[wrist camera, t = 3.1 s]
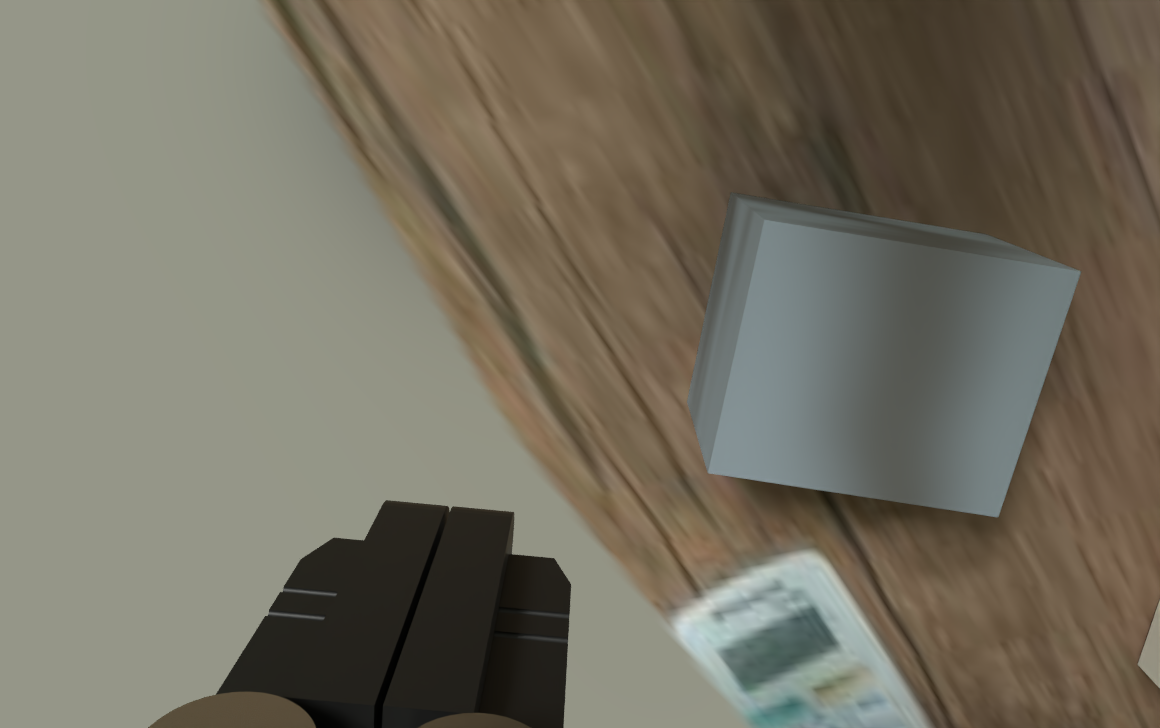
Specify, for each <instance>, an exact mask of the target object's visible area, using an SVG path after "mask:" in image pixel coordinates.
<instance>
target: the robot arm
mask: <svg viewBox="0 0 1160 728" xmlns="http://www.w3.org/2000/svg"><path fill="white" fill-rule="evenodd" d="M513 530H514V512H506V511H496V510H485V509H474V508H464V507H452V508H451V511H450V512H449V507H448V506H441V505H430V504H419V503H409V502H399V501H388V500H386V501H385V502H384V503H383V505H382V507H381V509H380V511H379V513H378V515H377V517H376V519H375V521H374V522H373V525H372V526H371V528H370V530H369V532H368V534H367V536H366V538H365V540H364V541H363V540H351V539H341V538H333V539H331V540H330V541H328V542H327V543H325V544H324V545H322V546H320V547H319V548H317V549H316V550H314V551H313V552H311V553H310V554H308V555H307V556H305V557H304V558H302V559H301V560H300V562H299V563H298V565H297V566H296V568H295V570H294V571H293V573H292V574H291V576H290V578H289V579H288V581H287V582H286V584H285V585H284V589H283V592H280V593H279V595H278V597H277V598H276V600H275V601H274V603H273V605H272V606H271V608H270V609H269V614H268V616H265V617H264V619H263V621H262V622H261V624H260V625H259V627H258V629H257V630H256V632H255V633H254V635H253V637H252V638H251V640H250V641H249V643H248V644H247V646H246V648H245V649H244V651H243V652H242V654H241V656H240V657H239V659H238V660H237V662H236V664H235V665H234V667H233V668H232V670H231V671H230V673H229V675H228V676H227V678H226V679H225V681H224V683H223V684H222V686H221V687H220V689H219V691H218V692H217V694H216V695H213V696H209V697H204V698H202V699H199V700H195V701H193V702H190V703H187V704H185V705H183V706H181V707H179V708H177V709H174V710H173V711H171V712H169V713H168V714H166V715H164V716H163V717H161V718H160V719H158V720H157V721H156V722H155V723H154V724H152V725H151V726H150V727H148V728H563V724H564V705H565V686H566V668H567V649H568V631H569V613H570V593H571V584H570V582H569V581H568V579H567V577H566V576H565V574H564V573H563V571H562V570H561V568H560V567H559V565H558V564H557V562H556V560H555V559H554V558H545V557H534V556H524V555H512V543H513Z"/></svg>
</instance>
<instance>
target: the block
mask: <svg viewBox="0 0 1160 728" xmlns="http://www.w3.org/2000/svg"><path fill="white" fill-rule="evenodd" d="M1080 274H1081V271H1079V270H1076V269H1074V268H1071V267H1069V266H1066V265H1064V264H1061V263H1058V262H1056V261H1053V260H1051V259H1048V258H1046V257H1043V256H1041V255H1038V254H1036V253H1033V252H1030V251H1028V250H1025V249H1023V248H1020V247H1018V246H1015V245H1013V244H1010V243H1008V242H1005V241H1002V240H1000V239H997V238H995V237H992V236H990V235H987V234H981V233H975V232H969V231H963V230H957V229H951V228H945V227H939V226H932V225H926V224H920V223H914V222H908V221H902V220H896V219H890V218H884V217H878V216H872V215H865V214H859V213H853V212H847V211H841V210H835V209H829V208H823V207H817V206H811V205H805V204H798V203H792V202H786V201H780V200H774V199H768V198H762V197H756V196H750V195H744V194H738V193H731V194H730V199H729V204H728V209H727V214H726V218H725V223H724V228H723V233H722V237H721V242H720V247H719V252H718V257H717V261H716V266H715V271H714V276H713V280H712V285H711V290H710V295H709V300H708V304H707V309H706V314H705V319H704V323H703V328H702V333H701V338H700V343H699V347H698V352H697V357H696V362H695V366H694V371H693V376H692V381H691V386H690V390H689V395H688V400H687V403H688V406H689V410H690V413H691V417H692V420H693V423H694V427H695V430H696V434H697V437H698V441H699V444H700V448H701V451H702V454H703V458H704V461H705V465H706V468H707V472H708V473H711V474H717V475H724V476H730V477H737V478H743V479H750V480H756V481H763V482H769V483H776V484H783V485H789V486H796V487H802V488H809V489H815V490H822V491H828V492H835V493H841V494H848V495H855V496H861V497H868V498H874V499H881V500H887V501H894V502H900V503H907V504H913V505H920V506H927V507H933V508H940V509H946V510H953V511H959V512H966V513H972V514H979V515H985V516H992V517H999V514H1000V511H1001V508H1002V505H1003V502H1004V499H1005V496H1006V493H1007V490H1008V487H1009V484H1010V481H1011V478H1012V475H1013V472H1014V469H1015V466H1016V463H1017V460H1018V457H1019V454H1020V451H1021V448H1022V446H1023V443H1024V440H1025V437H1026V434H1027V431H1028V428H1029V425H1030V422H1031V419H1032V416H1033V413H1034V410H1035V407H1036V404H1037V401H1038V398H1039V395H1040V392H1041V389H1042V386H1043V383H1044V380H1045V377H1046V374H1047V371H1048V368H1049V365H1050V363H1051V360H1052V357H1053V354H1054V351H1055V348H1056V345H1057V342H1058V339H1059V336H1060V333H1061V330H1062V327H1063V324H1064V321H1065V318H1066V315H1067V312H1068V309H1069V306H1070V303H1071V300H1072V297H1073V294H1074V291H1075V288H1076V285H1077V282H1078V280H1079V277H1080Z"/></svg>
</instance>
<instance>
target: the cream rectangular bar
mask: <svg viewBox="0 0 1160 728" xmlns="http://www.w3.org/2000/svg"><path fill="white" fill-rule="evenodd" d="M1138 666H1139V667H1140V668H1141V669H1142V670H1143V671H1144V672H1145V673H1146V674H1147V675H1148V676H1149V677H1150V679H1151V680H1152V681H1153V682H1154V683H1155V684H1156V685H1157V686H1158V687H1159V688H1160V601H1159V603H1158V606H1157V609H1156V612H1155V615H1154V618H1153V621H1152V624H1151V627H1150V630H1149V633H1148V636H1147V638H1146V641H1145V644H1144V647H1143V650H1142V653H1141V656H1140V659H1139V662H1138Z"/></svg>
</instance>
